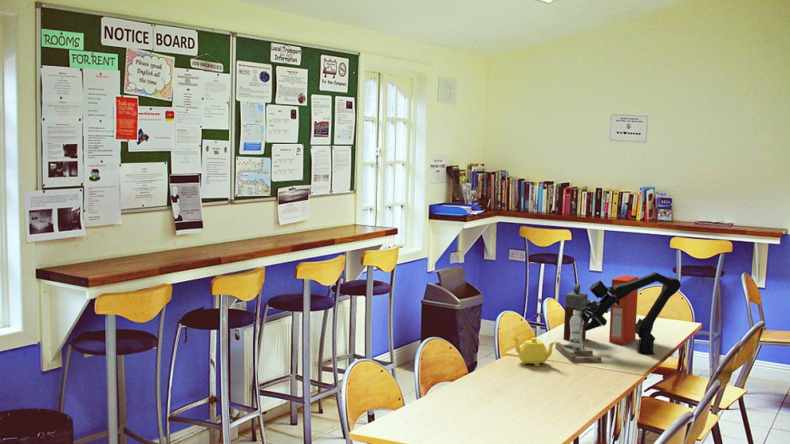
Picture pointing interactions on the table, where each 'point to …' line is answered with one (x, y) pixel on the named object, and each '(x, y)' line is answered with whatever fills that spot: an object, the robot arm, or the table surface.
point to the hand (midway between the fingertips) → (580, 328)
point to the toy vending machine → (573, 303)
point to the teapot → (533, 351)
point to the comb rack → (576, 354)
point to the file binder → (623, 314)
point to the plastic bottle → (576, 331)
